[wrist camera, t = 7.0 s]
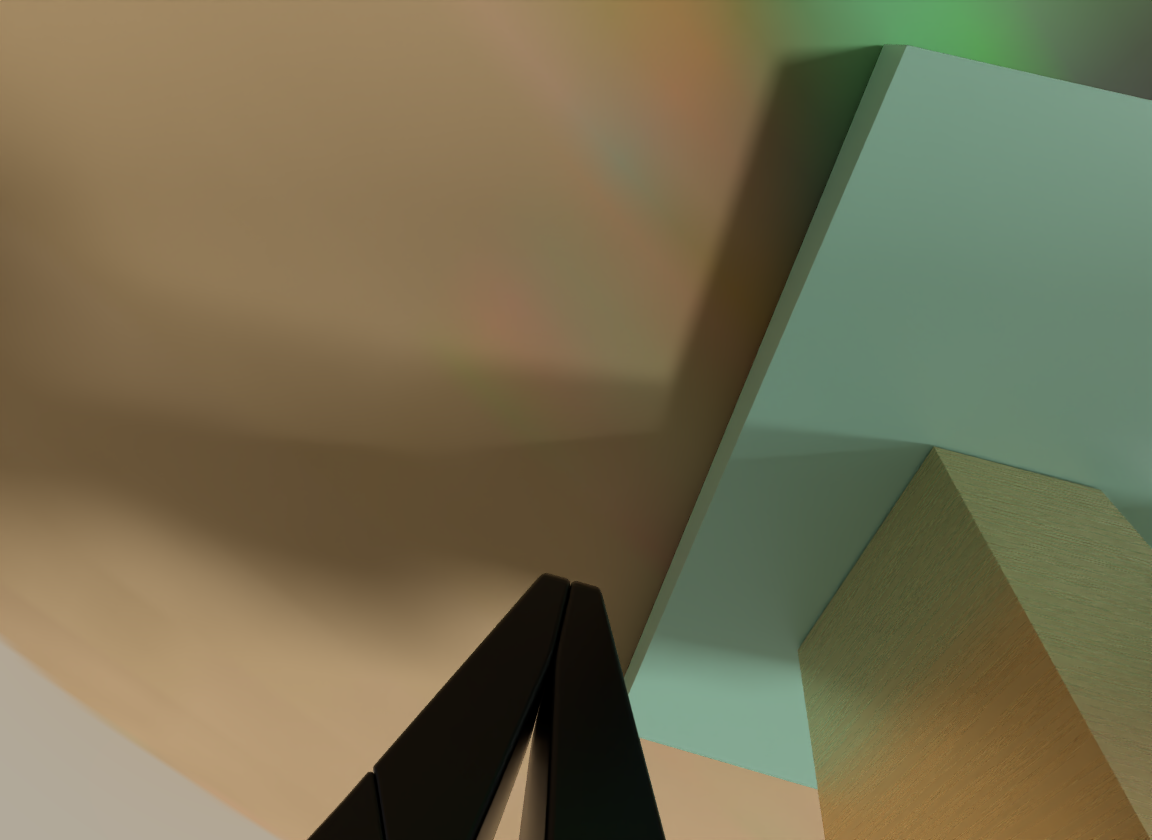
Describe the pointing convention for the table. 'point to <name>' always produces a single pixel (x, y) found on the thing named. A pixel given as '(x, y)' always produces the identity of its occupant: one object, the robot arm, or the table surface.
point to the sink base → (911, 374)
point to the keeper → (987, 666)
